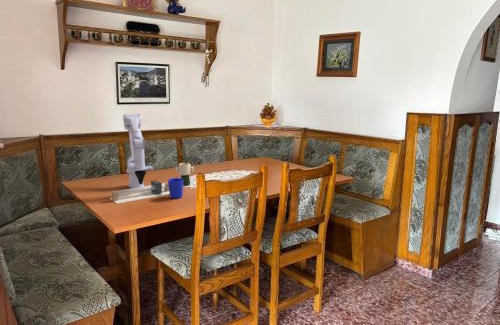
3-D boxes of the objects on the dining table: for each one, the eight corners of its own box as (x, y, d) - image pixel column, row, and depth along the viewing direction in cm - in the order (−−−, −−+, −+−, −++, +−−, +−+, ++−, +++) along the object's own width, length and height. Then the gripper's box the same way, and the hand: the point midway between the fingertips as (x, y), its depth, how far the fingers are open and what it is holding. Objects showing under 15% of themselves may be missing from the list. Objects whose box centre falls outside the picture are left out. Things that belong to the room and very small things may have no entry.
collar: (151, 190, 230) (150, 181, 229) (156, 190, 232) (155, 180, 230) (157, 194, 224) (156, 183, 222) (162, 193, 225) (161, 183, 224)
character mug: (195, 183, 250) (194, 162, 248) (193, 186, 243) (192, 165, 241) (177, 183, 251) (177, 162, 248) (175, 186, 244) (174, 165, 241)
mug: (183, 193, 229) (182, 176, 227) (184, 199, 217) (183, 181, 215) (168, 193, 227) (167, 176, 225) (168, 200, 215) (168, 182, 213)
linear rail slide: (109, 198, 218) (108, 189, 217) (164, 189, 237) (163, 180, 236) (116, 203, 209) (116, 194, 208) (173, 193, 227) (172, 184, 226)
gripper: (129, 162, 215) (130, 187, 217) (154, 159, 223) (155, 183, 226) (124, 160, 220) (126, 184, 223) (149, 157, 229) (150, 180, 231)
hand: (140, 183), depth 225 cm, fingers closed
